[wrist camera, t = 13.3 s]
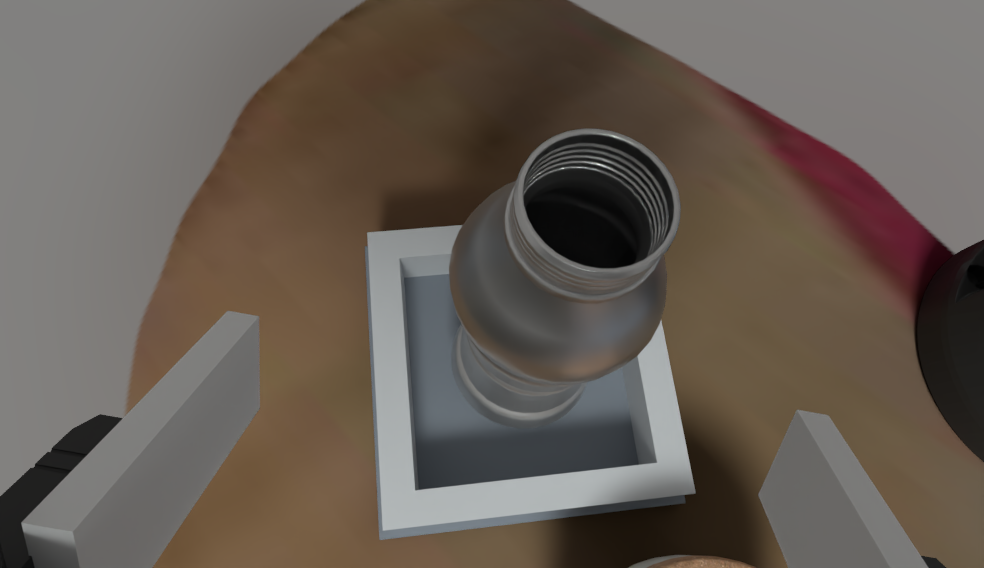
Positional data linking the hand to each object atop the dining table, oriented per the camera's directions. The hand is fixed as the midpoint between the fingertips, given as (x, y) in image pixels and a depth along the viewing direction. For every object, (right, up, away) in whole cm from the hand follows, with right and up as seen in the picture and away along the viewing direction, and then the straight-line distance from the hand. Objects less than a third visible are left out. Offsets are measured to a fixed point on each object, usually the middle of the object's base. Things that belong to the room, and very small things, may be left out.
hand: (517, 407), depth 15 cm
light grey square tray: (+1, -2, +18) cm, 18 cm away
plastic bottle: (+1, -2, +17) cm, 18 cm away
